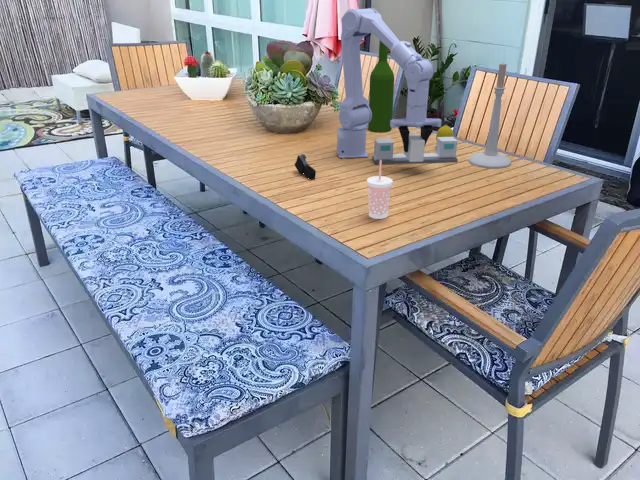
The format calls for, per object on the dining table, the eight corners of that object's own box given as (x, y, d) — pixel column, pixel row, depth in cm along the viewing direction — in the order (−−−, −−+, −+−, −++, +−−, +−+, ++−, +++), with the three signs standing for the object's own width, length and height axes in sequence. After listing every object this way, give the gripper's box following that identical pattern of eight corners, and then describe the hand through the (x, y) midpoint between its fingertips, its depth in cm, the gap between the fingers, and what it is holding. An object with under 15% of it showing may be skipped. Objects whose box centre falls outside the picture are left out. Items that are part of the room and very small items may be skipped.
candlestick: (478, 169, 161) (492, 66, 147) (462, 157, 172) (473, 59, 159) (518, 167, 162) (535, 64, 149) (499, 155, 174) (513, 58, 161)
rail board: (375, 164, 166) (376, 143, 163) (372, 158, 171) (372, 138, 168) (457, 161, 167) (459, 141, 165) (451, 156, 173) (453, 136, 170)
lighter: (313, 185, 157) (319, 172, 152) (307, 186, 156) (313, 174, 151) (300, 163, 160) (305, 150, 156) (294, 164, 159) (299, 151, 155)
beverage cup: (368, 209, 134) (370, 155, 128) (392, 211, 132) (395, 157, 126) (363, 218, 129) (365, 162, 122) (388, 221, 127) (391, 164, 121)
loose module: (409, 161, 155) (410, 141, 152) (403, 153, 162) (404, 134, 159) (423, 161, 155) (425, 141, 152) (416, 153, 162) (418, 133, 159)
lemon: (452, 151, 178) (454, 127, 174) (435, 150, 179) (437, 126, 175) (451, 146, 183) (454, 123, 179) (435, 145, 184) (437, 122, 180)
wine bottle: (396, 130, 203) (401, 39, 188) (378, 133, 198) (382, 40, 184) (381, 125, 209) (385, 37, 195) (363, 128, 205) (366, 38, 191)
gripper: (394, 108, 147) (391, 155, 153) (446, 107, 148) (441, 154, 154) (389, 102, 154) (387, 148, 160) (439, 101, 155) (434, 147, 161)
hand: (413, 151), depth 157 cm, fingers closed on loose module, 4 cm apart
